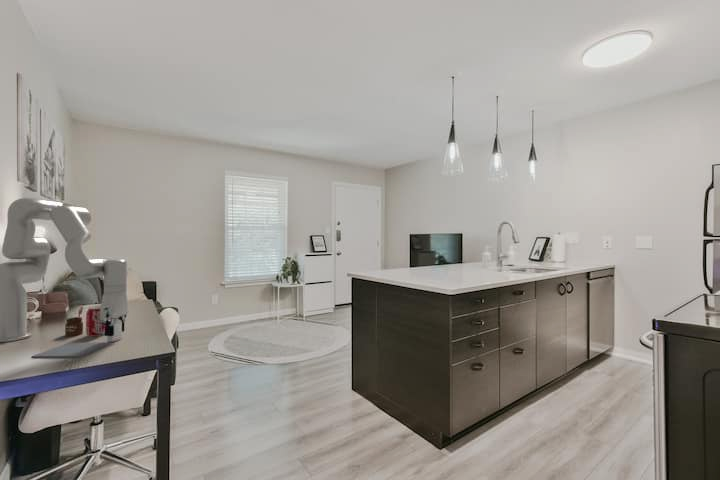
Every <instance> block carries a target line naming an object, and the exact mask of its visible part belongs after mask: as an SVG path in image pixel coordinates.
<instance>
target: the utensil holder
mask: <svg viewBox="0 0 720 480" xmlns="http://www.w3.org/2000/svg"><path fill="white" fill-rule="evenodd" d="M83 309H84V306H79V310H78V317H77V316H75V312H72V311H71V310H72V309H68V310H67V316H71V317H68V318H67V319H66V323H65V325H64V326H65V327H64V333H65V334H64V335H65V337H74V336H79V335H82V334H83V332H84V322H83V318H82V317H81V315H82V313H83ZM69 312H70V313H73V314H72V315H73V317H72V315H70V314H69Z"/></svg>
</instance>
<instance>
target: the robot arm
mask: <svg viewBox="0 0 720 480" xmlns="http://www.w3.org/2000/svg"><path fill="white" fill-rule="evenodd" d="M8 206H9V207H8V208H7V225H6V228H5V233H4V239H3V242H2V249H1V254H2V255H3V257H4V258H6V259H9V260H23V261H9V262H2V263H0V343H7V342H14V341H20V340H23V339H27V338H30V337H31V336H32V335H33V334H32V332H31V331H28V328H27V327H28V324H27V323H28V322H27V321H28V319H27V318H28V293H27V291H26V289H25V287H24V286H23V284H31V283H33V284H34V283H37V282H40V281H41V280H42V279H44V277H45V276H46V273H47V271H48V270H47V269H48V266H49V261H50V256H51V250H52V249H51V245H50V243H49V241H48V240H47V239H46V238H44V237H41V236H35V233H36V224H35V222H34V220H42V221H43V220H44V221H52V222H53V224H54V226H55V227H56V228H57V230H58V232H59V233H60V235H61V237H62V238H63V240H64V241H65V242H66V245H65V251H64V257H65V262H66V263H67V265H68V266H69V268H70V270H71V271H72V272H73V274H74V275H76V276H77V277H78V278H80V279H91V278H100V277H103V294H102V296H101V302H100V306H101V310H100V320H101V321H102V322H103V324H104V326H105V334H104V337H107V336H113V335H114V326H112V325H113V322H114V318H117V317H119V320H121V321H122V333H123V332H125V322H126V318H127V316H128V313H129V309H128V296H127V295H128V294H127V277H128V276H127V275H128V274H127V273H128V272H127V269H128V268H127V267H128V266H127V265H128V264H127V261H126V260H125V259H117V258H116V259H109V258H89V259H88V257H87V256H86V254H85V253H84V250H83V244H85V243H87V242H88V241H89V240H90V239H91V237H92V234H91V232H90V231H89V229H88V227H86V226H88V225H89V224H90V223H91V221H92V215H91V213H90V212H89V210H88V209H87V208H85V207H82V206H77V205H73V204H70V203H65V202H61V201H55V200H50V199H45V198H44V199H42V198H36V197H35V198H33V197H23V198H18V199H16V200H14V201H13V202H11V204H10V205H8ZM24 260H25V261H24Z"/></svg>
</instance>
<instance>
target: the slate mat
mask: <svg viewBox="0 0 720 480" xmlns="http://www.w3.org/2000/svg"><path fill="white" fill-rule="evenodd" d="M109 345H112V342H108V341H107V342H102V341H101V342H98V341H97V342H94V341H93V342H66V343H65V344H61V345H59V346H57V347H53V348H51V349H48V350H46V351H45V350H44V351H42V352H39V353H36V354H34V355H32V356H31V358H32V359H49V358H50V359H51V358H52V359H58V358H59V359H61V358H62V359H64V358H65V359H68V358H70V359H71V358H72V359H74V358H75V359H76V358H78V359H80V358H82V357H83V356H87V355H88V354H91V353H93V352H96V351H98V350H101V349H102V348H104V347H107V346H109Z"/></svg>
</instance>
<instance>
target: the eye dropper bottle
mask: <svg viewBox="0 0 720 480" xmlns="http://www.w3.org/2000/svg"><path fill="white" fill-rule="evenodd" d="M119 318H120V317H117V318H114V322H113V325H112V326H114V335H113V336H106V338H107V340H106V341H107V342H111V343H114V342H118V341H120V340H122V337H123V332H122V321H121V320H119Z"/></svg>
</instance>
